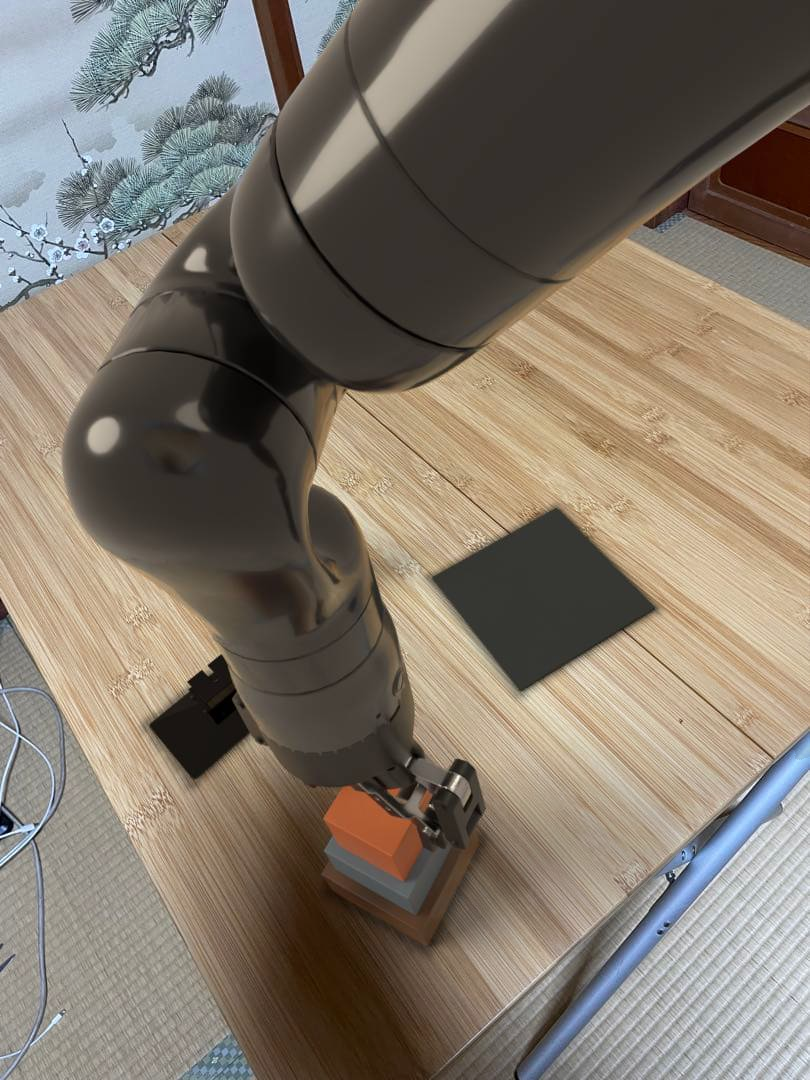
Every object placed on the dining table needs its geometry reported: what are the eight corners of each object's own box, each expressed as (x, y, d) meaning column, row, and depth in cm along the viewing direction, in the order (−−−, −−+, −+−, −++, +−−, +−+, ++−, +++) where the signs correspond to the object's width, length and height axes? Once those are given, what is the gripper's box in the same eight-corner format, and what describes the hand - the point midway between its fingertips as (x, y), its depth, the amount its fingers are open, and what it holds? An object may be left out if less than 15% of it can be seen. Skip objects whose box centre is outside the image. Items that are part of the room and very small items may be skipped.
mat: (654, 610, 72) (655, 607, 71) (520, 692, 69) (520, 690, 68) (556, 509, 80) (556, 507, 80) (432, 579, 77) (431, 576, 76)
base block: (479, 843, 61) (476, 824, 58) (427, 947, 58) (420, 932, 54) (387, 795, 65) (379, 775, 62) (332, 890, 61) (320, 874, 58)
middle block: (461, 828, 58) (456, 808, 55) (416, 916, 55) (408, 899, 52) (382, 788, 61) (373, 766, 58) (335, 869, 58) (323, 850, 55)
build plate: (263, 634, 76) (249, 606, 72) (313, 683, 72) (301, 655, 68) (149, 726, 71) (128, 700, 68) (196, 783, 67) (176, 759, 64)
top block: (441, 812, 55) (433, 783, 51) (404, 882, 53) (392, 857, 49) (377, 780, 57) (365, 749, 53) (338, 845, 55) (322, 818, 51)
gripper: (156, 679, 39) (249, 805, 52) (417, 814, 34) (451, 919, 46) (249, 562, 43) (315, 707, 56) (498, 667, 38) (509, 801, 50)
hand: (377, 803), depth 51 cm, fingers open, 8 cm apart
